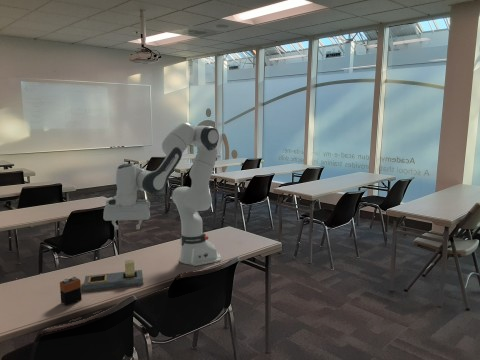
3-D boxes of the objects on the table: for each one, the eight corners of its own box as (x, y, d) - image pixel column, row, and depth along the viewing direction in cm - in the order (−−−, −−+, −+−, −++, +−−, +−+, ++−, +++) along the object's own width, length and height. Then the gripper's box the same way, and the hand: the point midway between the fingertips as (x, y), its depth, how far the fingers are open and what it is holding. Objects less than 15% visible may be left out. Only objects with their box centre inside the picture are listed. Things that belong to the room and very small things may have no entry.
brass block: (134, 278, 174) (133, 259, 173) (134, 281, 171) (134, 262, 169) (125, 279, 173) (124, 260, 172) (125, 282, 170) (124, 263, 168)
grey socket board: (142, 275, 178) (141, 269, 178) (143, 284, 169) (142, 277, 169) (85, 282, 171) (85, 275, 170) (83, 291, 162) (83, 284, 161)
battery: (60, 302, 152) (59, 279, 150) (76, 296, 157) (75, 274, 155) (65, 306, 149) (64, 282, 147) (82, 300, 154) (80, 277, 153)
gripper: (150, 197, 173) (150, 226, 175) (104, 198, 169) (105, 228, 171) (150, 200, 167) (150, 230, 169) (102, 201, 163) (103, 231, 165)
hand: (127, 229), depth 170 cm, fingers open, 8 cm apart
